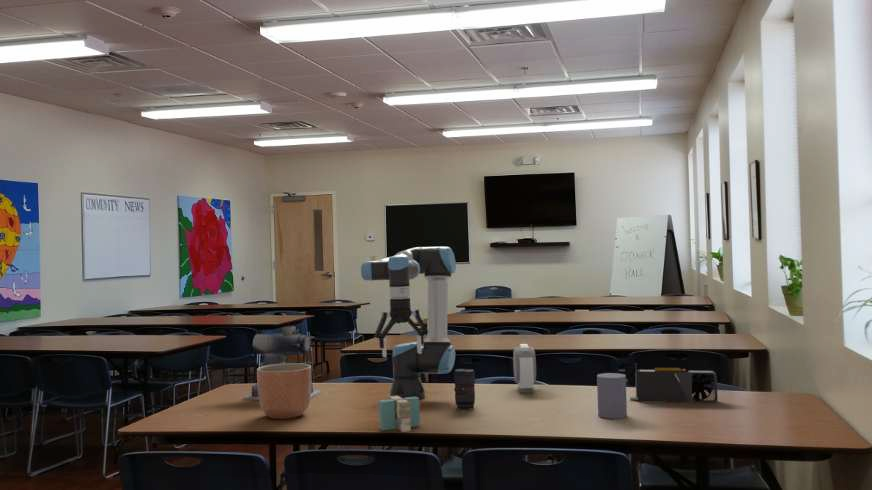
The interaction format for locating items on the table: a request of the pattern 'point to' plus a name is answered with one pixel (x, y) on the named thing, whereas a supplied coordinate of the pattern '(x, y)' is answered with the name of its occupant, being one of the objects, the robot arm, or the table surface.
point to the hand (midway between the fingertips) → (402, 355)
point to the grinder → (279, 351)
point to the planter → (284, 389)
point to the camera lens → (464, 388)
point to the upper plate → (402, 413)
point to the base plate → (388, 413)
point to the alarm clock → (524, 367)
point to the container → (612, 395)
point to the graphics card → (675, 385)
